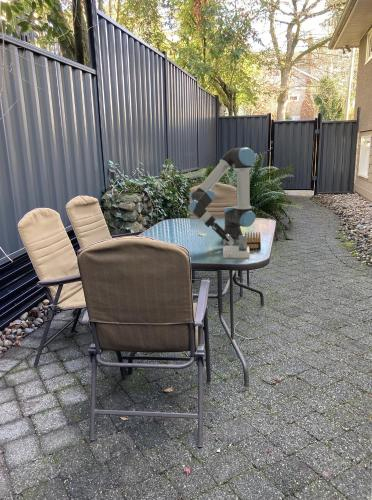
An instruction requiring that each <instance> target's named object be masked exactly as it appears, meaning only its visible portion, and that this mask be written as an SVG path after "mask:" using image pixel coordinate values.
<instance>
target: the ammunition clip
mask: <svg viewBox="0 0 372 500" xmlns="http://www.w3.org/2000/svg"><path fill="white" fill-rule="evenodd" d="M244 235H247V246H249V251H260V250H262V245H261V244H262V243H261V240H262V239H261V232H260V231H256V232H255V231H253V232H252V231H251V232H249V231H248V232H244Z"/></svg>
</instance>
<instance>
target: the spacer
mask: <svg viewBox="0 0 372 500" xmlns="http://www.w3.org/2000/svg"><path fill="white" fill-rule="evenodd" d="M225 235H226V236H227V237H228V238H229V239H230V240H231V235H230V234H225ZM222 241H223V242H222V243H223V247H224V246H230V245H229V244H228V243H227V242H226V241H225V240H222Z"/></svg>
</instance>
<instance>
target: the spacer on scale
mask: <svg viewBox="0 0 372 500" xmlns="http://www.w3.org/2000/svg"><path fill="white" fill-rule="evenodd" d="M247 237H248V234H247V235H245V234H243V235H239V239H238V246H239V250H240V251H246V250H247Z"/></svg>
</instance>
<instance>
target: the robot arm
mask: <svg viewBox="0 0 372 500" xmlns="http://www.w3.org/2000/svg"><path fill="white" fill-rule="evenodd" d="M255 161H256V155H255V152H254V151H253V150H252V149H251V148H249V147H236V148H235V147H234V148H232V149H230V150H228V151H227V152H226V153H225V154H224V155H223V156H222V157H221V158H220V160H219V163H218V164H217V165H216V166H215V167H214V169H213V170H212V171H211V173H209V174H208V175H207V177H206V178H205V179H204V180H203V181H202V183H201V184H200V185H199V186H198V187H197V188H196V190H194V191H193V190H192V191H191V192H190V193H189V197H188V198H189V200H190V201H191V202H190V204H188V205H187V208H188V210H189V211H190V212H191V213H192V214H193V215H194V216H196V217H197V219H199V222H202V224H203V223H204V226H206V227H207V228H210V226H211V228H212V230H213V231H214V232H215V234H217V235H218V236H219V237H220V238H221V239H222V241H223V240H225V241H226V242H227V243H228V244H229V245H230V246H234V241H235V240H239V235H244V234H243V231H242V229H241V227H242V228H248V227H251V226H252V225H253V224H254V223H255V220H256V214H255V213H254V212H253V207H252V206H251V205H250V204H251V203H250V202H251V201H250V200H251V198H250V196H251V195H250V191H251V190H250V186H251V185H250V171H251V170H252V167H253V164H254V162H255ZM232 167H234V170H235V171H236V193H237V194H236V197H237V199H236V201H237V205H236V206H230V207H229V206H228V207H225V208H224V210H223V211H224V212H223V214H224V227H223V228H222V227H221V226H220V225H219V224H218V223H217V222H215V221H216V218H215V217H214V216H213V215H212V214H211V213H210V212H209V211H208V210H207V209H206V208H208V206H209V205H210V204H211V203H212V202H213V201H214V200H215V198H216V197H217V196H216V193H215V192H214V191H213V190H212V189H213V187H214V186H215V185H216V184H217V182H219V181H220V179H221V178H222V177H223V176H224V175H225V173H226V172H227V171H229V170H231V168H232ZM225 234H230V235H231V240H230V239H229V238H228V237H227V236H226V235H225Z"/></svg>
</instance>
